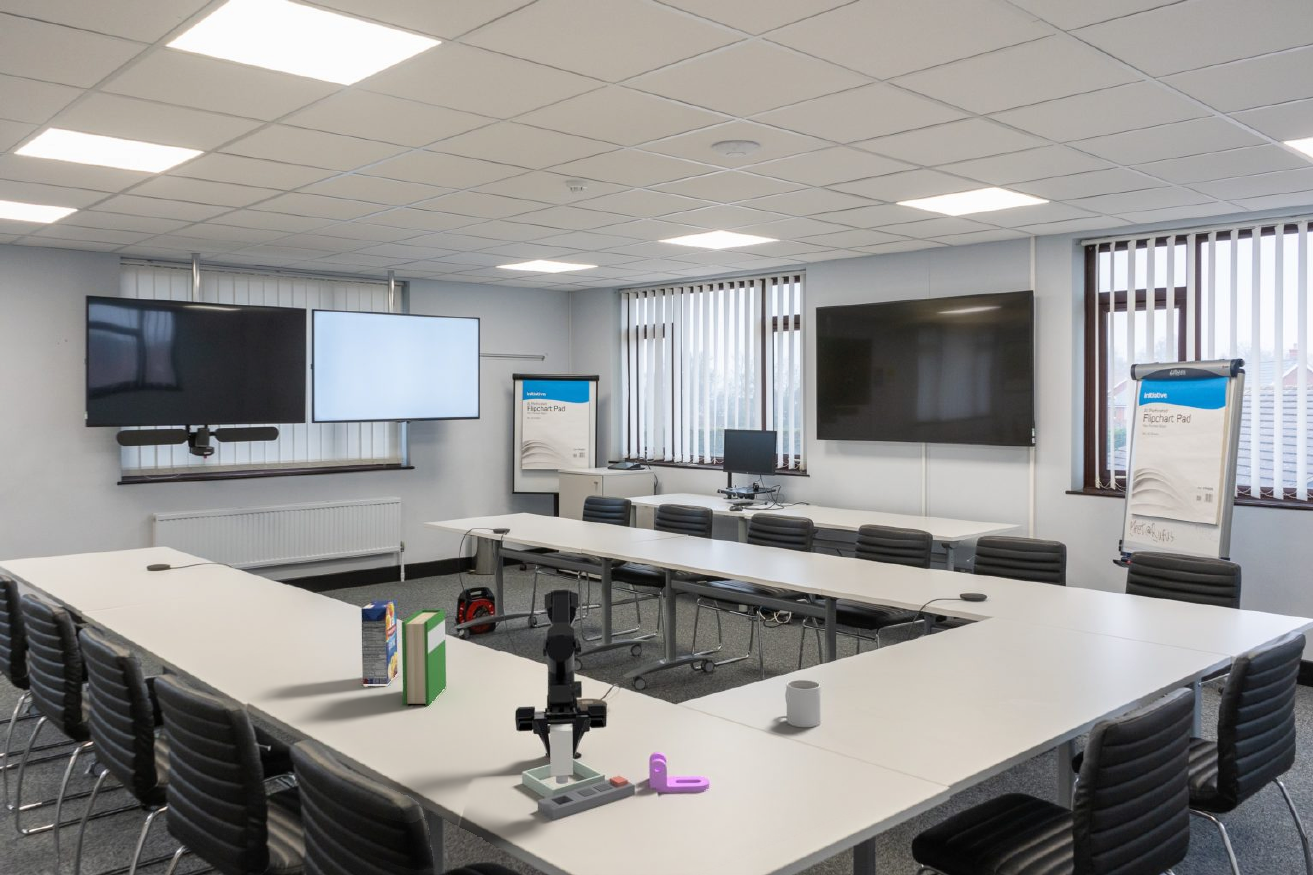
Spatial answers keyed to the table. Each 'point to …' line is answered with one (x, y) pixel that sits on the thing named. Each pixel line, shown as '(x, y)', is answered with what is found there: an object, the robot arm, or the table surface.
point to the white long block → (561, 752)
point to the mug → (803, 703)
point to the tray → (533, 781)
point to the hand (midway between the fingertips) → (561, 756)
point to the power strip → (586, 797)
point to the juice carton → (379, 642)
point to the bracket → (672, 778)
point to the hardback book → (423, 656)
